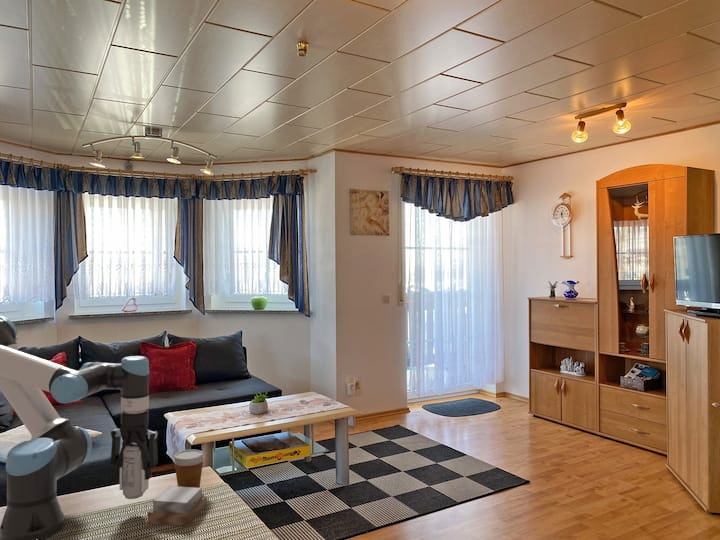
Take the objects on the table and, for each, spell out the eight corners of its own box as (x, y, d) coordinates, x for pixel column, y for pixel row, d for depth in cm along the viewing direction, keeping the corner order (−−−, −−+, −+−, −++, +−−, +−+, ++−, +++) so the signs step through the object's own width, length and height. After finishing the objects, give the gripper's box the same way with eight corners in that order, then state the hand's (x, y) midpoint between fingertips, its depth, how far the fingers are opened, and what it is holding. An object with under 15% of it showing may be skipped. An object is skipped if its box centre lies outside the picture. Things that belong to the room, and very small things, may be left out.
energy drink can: (148, 495, 162) (149, 444, 162) (128, 501, 158) (129, 449, 157) (138, 489, 166) (139, 439, 166) (119, 495, 162) (119, 444, 161)
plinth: (147, 523, 155) (147, 501, 155) (168, 504, 167) (168, 484, 167) (188, 526, 154) (188, 504, 154) (206, 506, 166) (206, 486, 165)
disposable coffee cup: (181, 501, 169) (181, 462, 169) (168, 491, 176) (167, 453, 176) (210, 492, 176) (209, 454, 175) (196, 483, 183) (196, 446, 182)
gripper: (96, 411, 159) (96, 491, 160) (159, 415, 156) (158, 497, 157) (111, 404, 166) (111, 481, 167) (171, 408, 164) (170, 486, 164)
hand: (134, 488), depth 162 cm, fingers closed on energy drink can, 6 cm apart
